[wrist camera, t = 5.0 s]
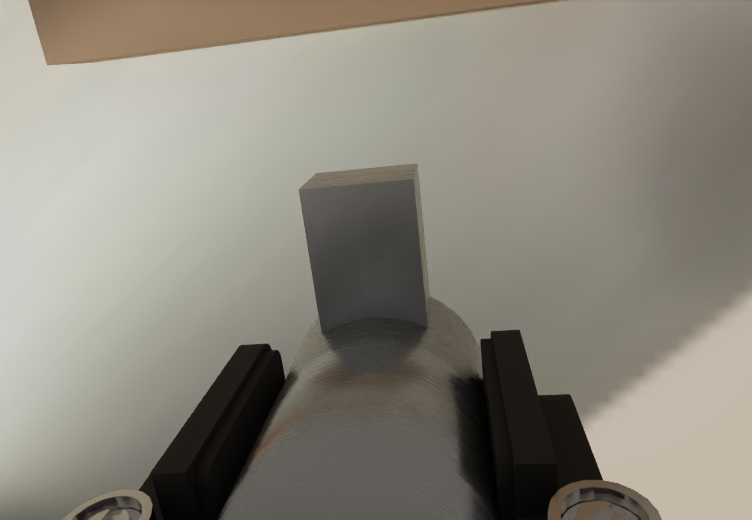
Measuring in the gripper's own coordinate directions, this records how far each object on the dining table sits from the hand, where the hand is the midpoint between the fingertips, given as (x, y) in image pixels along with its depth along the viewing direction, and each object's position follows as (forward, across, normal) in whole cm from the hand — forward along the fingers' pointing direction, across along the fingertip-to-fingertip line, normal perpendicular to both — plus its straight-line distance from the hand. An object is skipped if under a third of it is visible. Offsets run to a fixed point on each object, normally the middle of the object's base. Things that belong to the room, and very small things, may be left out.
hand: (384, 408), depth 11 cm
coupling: (+1, 0, 0) cm, 1 cm away
